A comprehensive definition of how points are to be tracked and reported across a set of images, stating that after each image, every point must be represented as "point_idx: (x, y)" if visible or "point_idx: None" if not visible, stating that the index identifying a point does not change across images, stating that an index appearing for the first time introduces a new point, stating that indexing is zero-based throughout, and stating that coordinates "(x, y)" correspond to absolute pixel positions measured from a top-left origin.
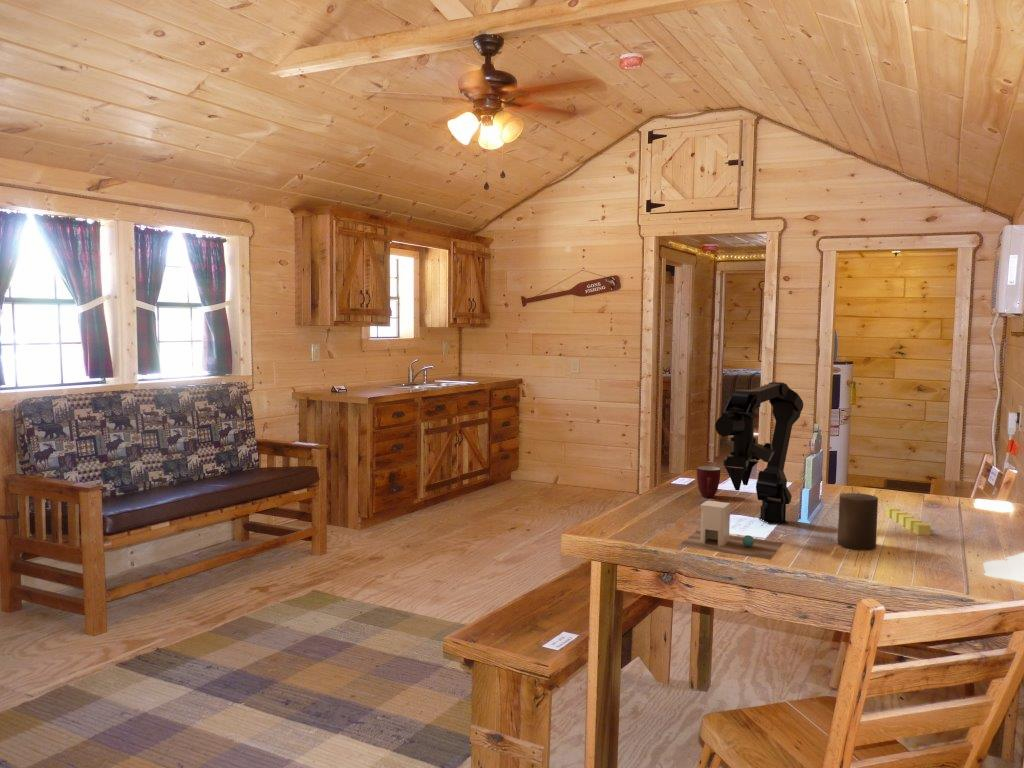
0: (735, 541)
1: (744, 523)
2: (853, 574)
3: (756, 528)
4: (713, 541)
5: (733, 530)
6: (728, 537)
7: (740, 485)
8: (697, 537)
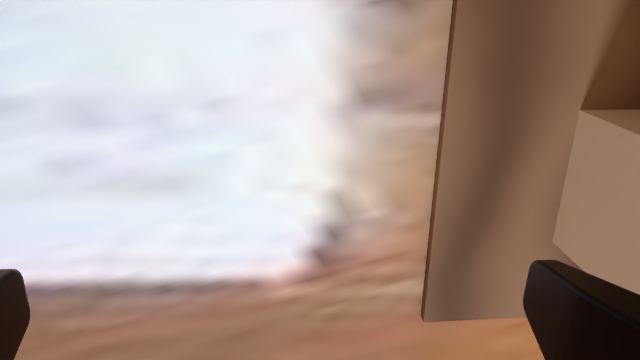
0: (583, 70)
1: (8, 143)
2: None
3: (97, 30)
4: None
5: (257, 158)
6: (613, 116)
7: (584, 289)
8: None
